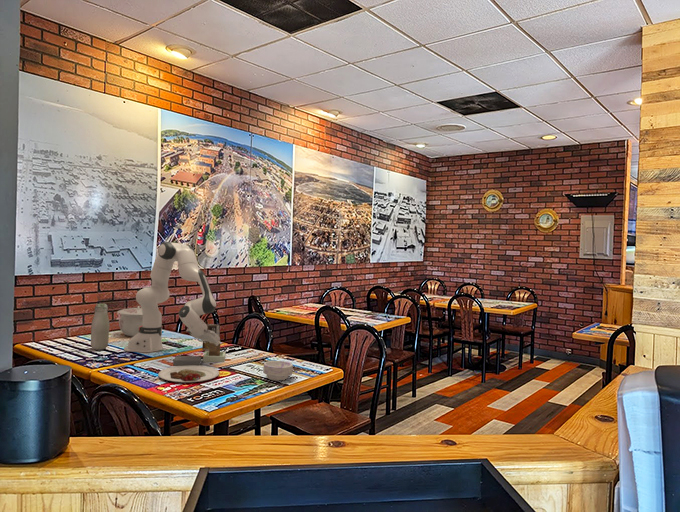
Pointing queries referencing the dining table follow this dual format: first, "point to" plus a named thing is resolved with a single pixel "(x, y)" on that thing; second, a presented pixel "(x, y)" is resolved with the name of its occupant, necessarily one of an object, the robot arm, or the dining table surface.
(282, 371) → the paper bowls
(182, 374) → the plated food
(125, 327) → the chamber pot
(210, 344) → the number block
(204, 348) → the coffee box
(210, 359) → the holder
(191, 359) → the block
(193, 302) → the robot arm
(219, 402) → the dining table surface
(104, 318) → the glass bottle
